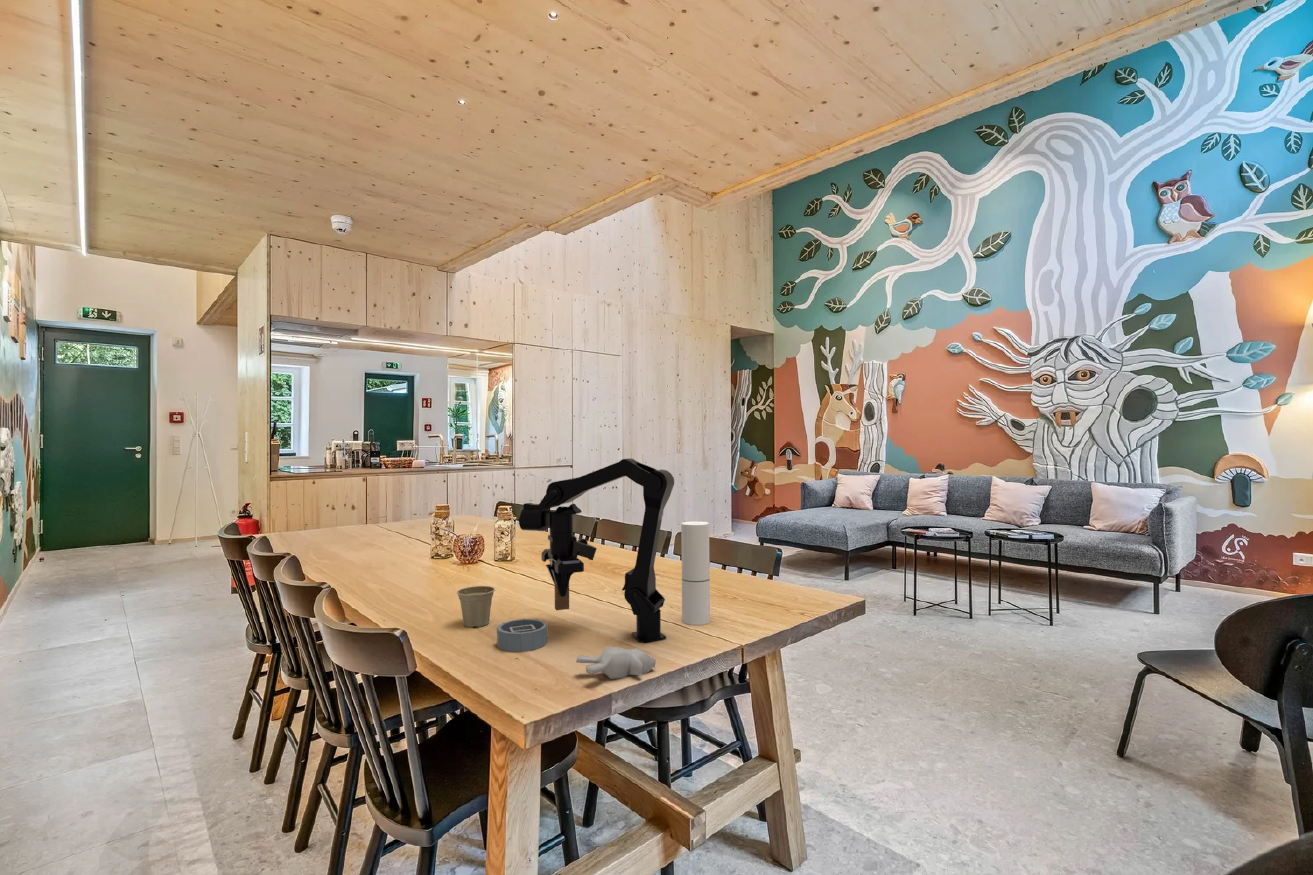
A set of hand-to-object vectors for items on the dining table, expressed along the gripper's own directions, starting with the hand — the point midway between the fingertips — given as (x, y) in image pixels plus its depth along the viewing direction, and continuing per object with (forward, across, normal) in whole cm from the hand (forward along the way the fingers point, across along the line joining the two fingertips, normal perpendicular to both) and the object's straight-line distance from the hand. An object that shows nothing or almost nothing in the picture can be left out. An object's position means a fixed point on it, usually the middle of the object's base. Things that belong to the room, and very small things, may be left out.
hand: (561, 595), depth 149 cm
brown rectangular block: (+3, 0, 0) cm, 3 cm away
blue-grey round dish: (+8, -6, +11) cm, 15 cm away
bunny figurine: (+9, -33, -3) cm, 34 cm away
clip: (+8, -6, +11) cm, 15 cm away
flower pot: (+9, +14, +19) cm, 25 cm away
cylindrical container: (+9, -7, -33) cm, 35 cm away
